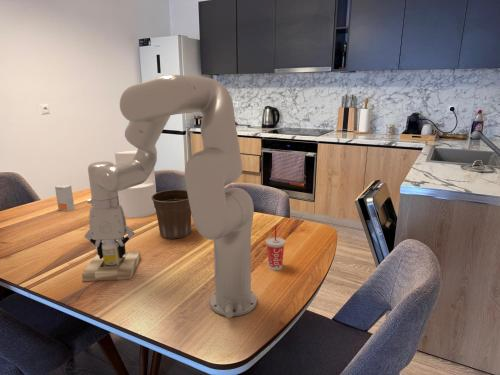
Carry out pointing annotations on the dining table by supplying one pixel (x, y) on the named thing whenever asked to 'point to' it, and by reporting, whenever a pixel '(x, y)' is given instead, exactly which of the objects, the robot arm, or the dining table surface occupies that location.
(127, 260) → the socket block
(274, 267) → the beverage cup
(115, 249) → the supplement bottle
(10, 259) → the dining table surface
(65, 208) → the skincare box
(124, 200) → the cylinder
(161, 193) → the plant pot
